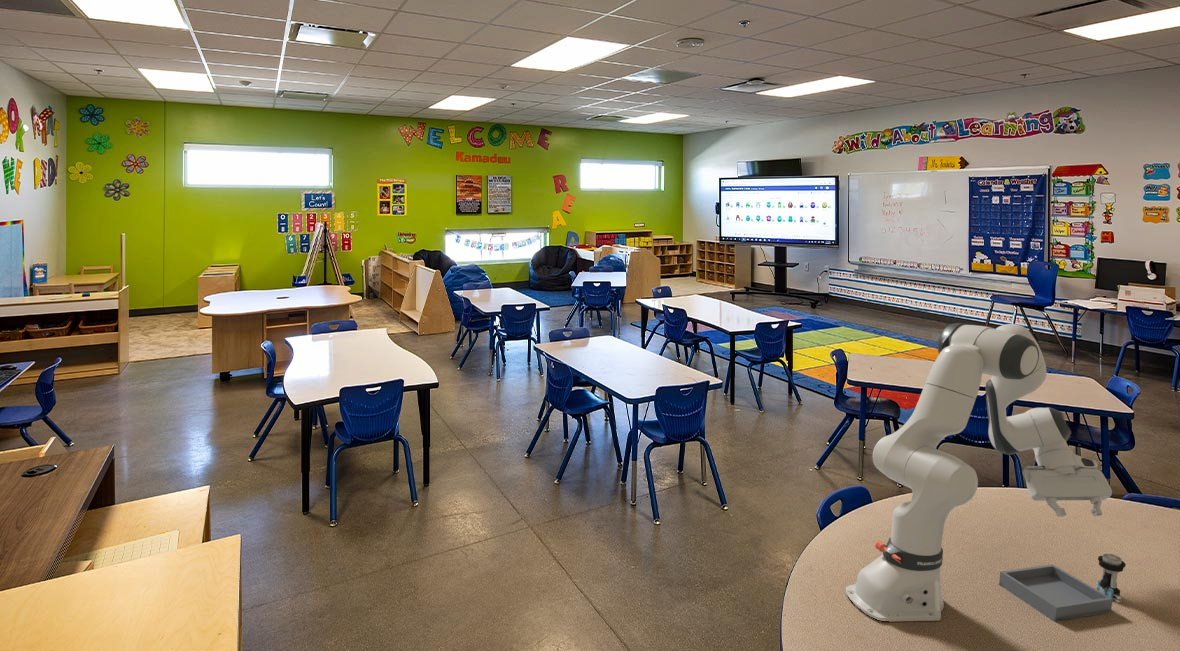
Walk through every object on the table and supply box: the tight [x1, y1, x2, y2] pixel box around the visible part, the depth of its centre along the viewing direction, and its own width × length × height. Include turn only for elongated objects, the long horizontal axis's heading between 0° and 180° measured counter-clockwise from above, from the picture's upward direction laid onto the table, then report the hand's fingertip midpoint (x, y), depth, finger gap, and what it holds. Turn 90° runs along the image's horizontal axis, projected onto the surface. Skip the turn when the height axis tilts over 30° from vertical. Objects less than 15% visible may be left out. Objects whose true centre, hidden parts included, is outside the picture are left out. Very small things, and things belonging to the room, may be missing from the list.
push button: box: [1096, 553, 1127, 603], centre depth 164 cm, size 7×5×10 cm
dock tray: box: [998, 564, 1114, 622], centre depth 164 cm, size 16×16×4 cm
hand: (1080, 515), depth 175 cm, fingers open, 8 cm apart
